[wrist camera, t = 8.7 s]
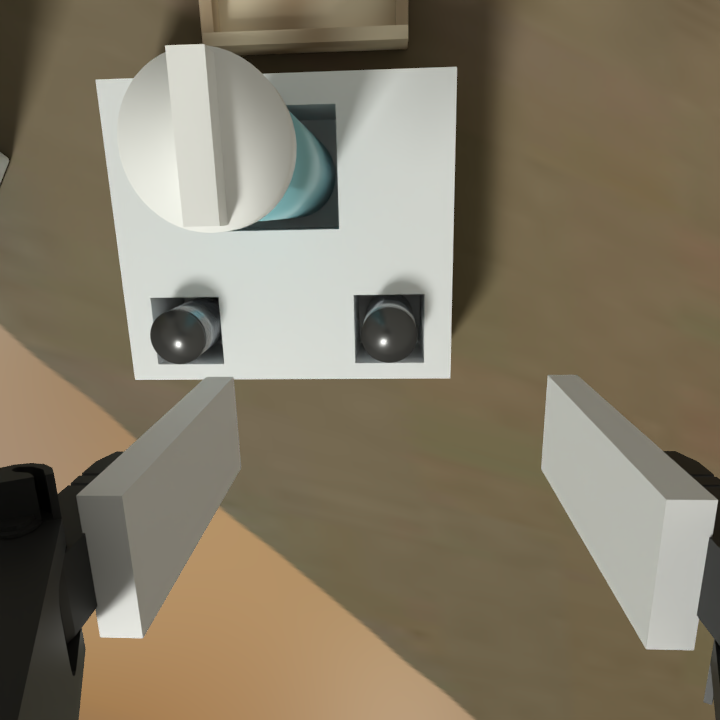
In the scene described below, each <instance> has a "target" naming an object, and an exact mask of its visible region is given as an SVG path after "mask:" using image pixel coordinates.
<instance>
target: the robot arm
mask: <svg viewBox="0 0 720 720" xmlns="http://www.w3.org/2000/svg"><path fill="white" fill-rule="evenodd" d="M240 469H241V460H240V448H239V436H238V424H237V412H236V400H235V388H234V377H206V378H205V379H203V380H202V381H201V382H200V383H199V384H198V385H197V386H196V387H195V388H194V389H192V390H191V391H190V392H189V393H188V394H187V395H186V396H185V397H184V398H183V399H181V400H180V401H179V402H178V403H177V404H176V405H175V406H174V407H173V408H172V409H171V410H169V411H168V412H167V413H166V414H165V415H164V416H163V417H162V418H161V419H160V420H158V421H157V422H156V423H155V424H154V425H153V426H152V427H151V428H150V429H149V430H147V431H146V432H145V433H144V434H143V435H142V436H141V437H140V438H139V439H138V440H137V441H135V442H134V443H133V444H132V445H131V446H130V447H129V448H128V449H127V450H126V451H124V452H115V453H113V454H111V455H109V456H106V457H105V458H102V459H100V460H98V461H96V462H95V463H94V464H93V465H91V466H90V467H89V468H88V469H87V470H86V471H84V472H83V473H82V476H79V477H77V478H76V479H75V480H74V481H73V482H72V483H71V486H67V487H66V488H65V489H63V490H62V491H61V492H60V493H59V494H57V489H56V483H55V478H54V473H53V469H52V468H51V467H49V466H47V465H45V464H34V463H29V464H18V465H11V466H7V467H2V468H0V720H78V719H79V709H80V698H81V688H82V678H83V668H84V657H85V644H84V638H83V633H82V626H83V625H84V624H85V622H86V621H87V620H88V618H89V617H90V616H91V614H92V613H93V612H94V610H95V609H96V615H97V621H98V626H99V632H100V637H111V638H143V637H144V636H145V634H146V632H147V630H148V629H149V627H150V625H151V623H152V622H153V620H154V618H155V616H156V615H157V613H158V611H159V610H160V608H161V606H162V604H163V603H164V601H165V599H166V597H167V596H168V594H169V592H170V590H171V589H172V587H173V585H174V583H175V582H176V580H177V578H178V577H179V575H180V573H181V571H182V569H183V568H184V566H185V564H186V563H187V561H188V559H189V557H190V556H191V554H192V552H193V551H194V549H195V547H196V545H197V544H198V542H199V540H200V538H201V537H202V535H203V533H204V531H205V530H206V528H207V526H208V525H209V523H210V521H211V519H212V518H213V516H214V514H215V512H216V511H217V509H218V507H219V505H220V504H221V502H222V500H223V498H224V497H225V495H226V493H227V492H228V490H229V488H230V486H231V485H232V483H233V481H234V479H235V478H236V476H237V474H238V472H239V471H240ZM541 469H542V471H543V473H544V475H545V476H546V478H547V480H548V481H549V483H550V485H551V487H552V488H553V490H554V492H555V494H556V495H557V497H558V499H559V500H560V502H561V504H562V506H563V507H564V509H565V511H566V512H567V514H568V516H569V518H570V519H571V521H572V523H573V524H574V526H575V528H576V530H577V531H578V533H579V535H580V536H581V538H582V540H583V542H584V543H585V545H586V547H587V548H588V550H589V552H590V554H591V555H592V557H593V559H594V561H595V562H596V564H597V566H598V567H599V569H600V571H601V573H602V574H603V576H604V578H605V579H606V581H607V583H608V585H609V586H610V588H611V590H612V591H613V593H614V595H615V597H616V598H617V600H618V602H619V603H620V605H621V607H622V609H623V610H624V612H625V614H626V615H627V617H628V619H629V621H630V622H631V624H632V626H633V628H634V629H635V631H636V633H637V634H638V636H639V638H640V640H641V641H642V643H643V645H644V646H645V648H646V649H661V650H694V645H695V639H696V633H697V627H698V621H699V619H700V620H701V622H702V623H703V624H704V626H705V627H706V628H707V630H708V631H709V632H710V634H711V635H712V636H713V637H714V645H713V651H712V656H711V662H710V668H709V674H708V679H707V685H706V691H705V697H704V702H705V703H708V704H711V705H712V702H713V699H714V706H715V717H716V720H720V479H718V478H717V477H714V474H712V473H711V472H710V471H709V470H707V469H706V468H705V467H704V466H703V465H701V464H700V463H699V462H697V461H695V460H693V459H691V458H689V457H686V456H684V455H682V454H680V453H678V452H676V451H662V450H661V449H660V448H659V447H658V446H657V445H655V444H654V443H653V442H652V441H651V440H650V439H649V438H648V437H646V436H645V435H644V434H643V433H642V432H641V431H640V430H639V429H637V428H636V427H635V426H634V425H633V424H632V423H631V422H629V421H628V420H627V419H626V418H625V417H624V416H623V415H622V414H620V413H619V412H618V411H617V410H616V409H615V408H614V407H613V406H611V405H610V404H609V403H608V402H607V401H606V400H605V399H604V398H602V397H601V396H600V395H599V394H598V393H597V392H596V391H595V390H593V389H592V388H591V387H590V386H589V385H588V384H587V383H585V382H584V381H583V380H582V379H581V378H580V377H579V376H578V375H548V380H547V394H546V409H545V423H544V437H543V451H542V466H541Z"/></svg>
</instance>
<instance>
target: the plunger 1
mask: <svg viewBox="0 0 720 720" xmlns="http://www.w3.org/2000/svg"><path fill="white" fill-rule="evenodd" d="M150 339H151V343H152V346H153V348H154V350H155V351H156V352H157V354H158V355H159V356H160V357H162V358H163V359H164V360H166V361H168V362H170V363H174V364H186V363H189V362H191V361H193V360H195V359H196V358H197V357H199V356H200V355H201V354H203V353H204V352H205V351H206V350H208V349H209V348H210V347H212V346H213V345H214V344H216V343H217V342H218V341H219V340H221V339H222V331H221V320H220V309H219V297H197V298H195V299H193V300H191V301H189V302H186V303H184V304H182V305H180V306H178V307H175V308H173V309H171V310H169V311H167V312H165V313H163V314H161V315H160V316H158V317H157V318H156V319H155V321H154V322H153V324H152V327H151V331H150Z"/></svg>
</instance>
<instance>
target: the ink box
mask: <svg viewBox="0 0 720 720" xmlns="http://www.w3.org/2000/svg"><path fill="white" fill-rule="evenodd" d="M8 163H9V159H8V157H6V156H5V155H3V154H2V153H0V183H1V181H2V178H3V176H4V173H5V171H6V168H7V166H8Z"/></svg>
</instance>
